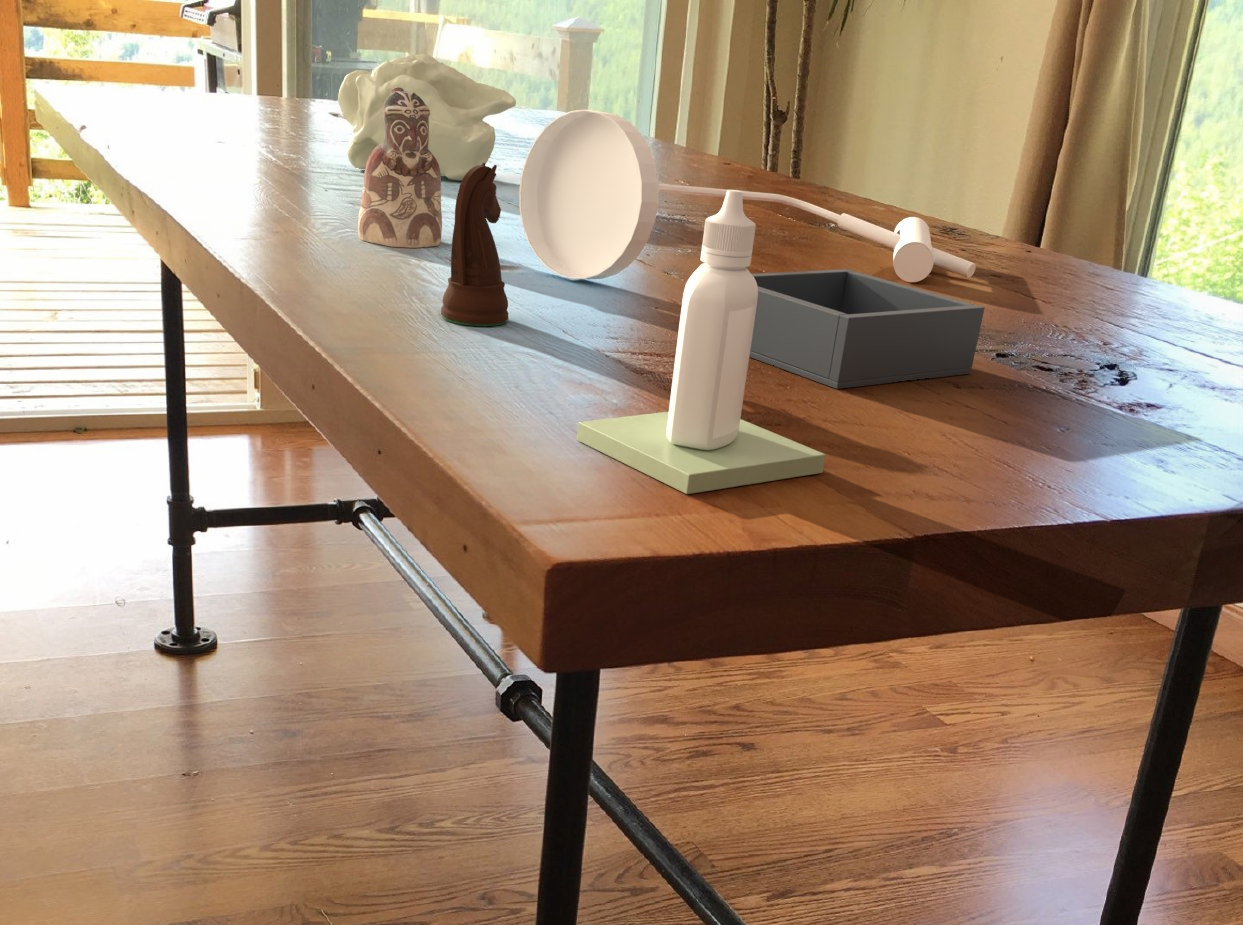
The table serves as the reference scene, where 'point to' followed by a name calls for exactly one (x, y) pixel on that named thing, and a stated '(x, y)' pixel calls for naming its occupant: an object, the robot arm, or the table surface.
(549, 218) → the desk lamp
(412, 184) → the figurine
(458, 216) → the chess piece
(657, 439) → the pad
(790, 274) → the bin
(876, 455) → the table surface
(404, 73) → the folded clay sculpture
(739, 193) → the eye dropper bottle
